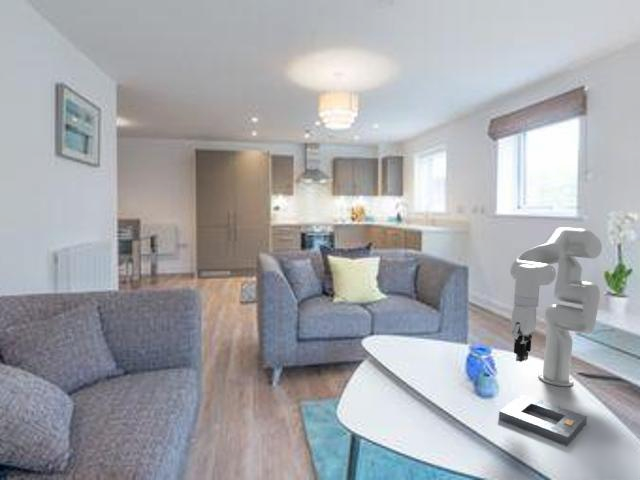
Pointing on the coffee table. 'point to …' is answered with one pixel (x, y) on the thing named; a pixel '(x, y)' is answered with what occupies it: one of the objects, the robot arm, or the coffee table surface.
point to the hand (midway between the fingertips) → (522, 351)
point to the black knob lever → (525, 356)
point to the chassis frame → (559, 433)
